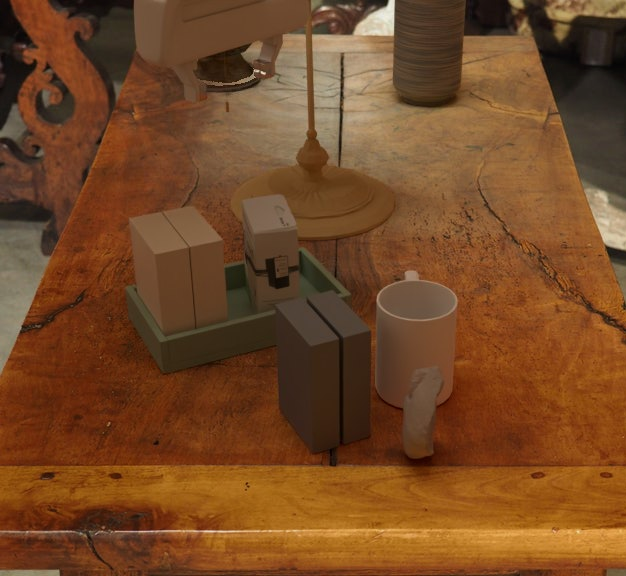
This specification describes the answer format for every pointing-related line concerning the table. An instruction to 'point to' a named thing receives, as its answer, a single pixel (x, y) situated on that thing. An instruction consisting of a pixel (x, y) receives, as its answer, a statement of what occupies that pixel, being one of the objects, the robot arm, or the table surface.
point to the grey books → (323, 370)
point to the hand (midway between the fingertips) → (231, 88)
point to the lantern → (226, 70)
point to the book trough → (240, 328)
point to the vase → (428, 50)
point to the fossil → (421, 412)
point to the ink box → (270, 252)
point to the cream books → (179, 269)
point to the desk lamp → (320, 185)
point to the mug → (414, 335)
